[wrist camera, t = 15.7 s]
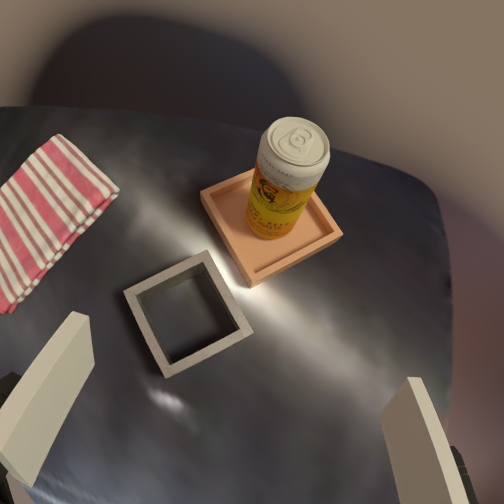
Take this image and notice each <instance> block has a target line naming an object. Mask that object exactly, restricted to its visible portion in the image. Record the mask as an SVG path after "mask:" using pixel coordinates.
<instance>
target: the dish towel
mask: <svg viewBox="0 0 504 504" xmlns="http://www.w3.org/2000/svg"><path fill="white" fill-rule="evenodd" d="M118 195H119V188H118V187H117V186H116V185H115V184H114V183H113V182H112V181H111V180H110V179H109V178H108V177H107V176H106V175H104V174H103V173H102V172H101V171H100V170H99V169H98V168H97V167H96V166H95V165H94V164H93V163H92V162H91V161H90V160H89V159H88V158H87V157H86V156H85V155H84V154H83V153H82V152H81V151H80V150H79V149H78V148H77V147H76V146H75V145H73V144H72V143H71V142H70V141H68V140H67V139H66V138H64V137H63V136H62V135H60V134H57V135H55V136H53V137H52V138H51V139H50V140H49V141H48V142H46V143H45V144H44V145H43V146H41V147H40V148H38V149H37V150H36V151H35V152H34V153H33V154H32V155H30V157H29V158H28V159H27V160H26V161H25V162H24V163H23V164H22V165H21V167H20V169H19V170H18V171H17V172H16V173H15V174H14V175H13V176H12V177H11V178H10V179H9V180H8V181H7V182H6V183H5V184H4V185H3V186H2V187H1V188H0V312H1V314H3V315H5V314H6V312H7V311H8V312H9V313H11V314H12V313H13V312H14V311H15V309H16V307H17V305H18V304H19V303H20V302H22V301H23V300H24V299H25V297H26V296H27V295H29V294H30V293H31V292H32V291H33V289H34V288H35V286H37V285H38V283H39V282H40V280H41V279H42V277H43V276H44V275H45V273H46V272H47V271H48V270H49V269H50V268H51V267H52V266H53V265H54V264H55V262H56V261H58V260H59V259H60V258H61V257H62V255H63V254H64V253H65V251H67V250H68V248H69V247H70V246H71V244H72V243H73V242H74V241H75V240H76V239H77V238H78V236H79V235H81V234H82V233H83V232H84V231H85V230H86V229H87V228H88V227H89V226H90V225H91V224H92V223H93V222H94V221H95V220H96V219H97V218H98V217H99V216H100V215H101V214H102V213H103V211H104V210H105V209H106V207H107V206H108V205H109V204H110V203H111V202H112V201H113V200H114V199H115V198H117V196H118Z"/></svg>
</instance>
